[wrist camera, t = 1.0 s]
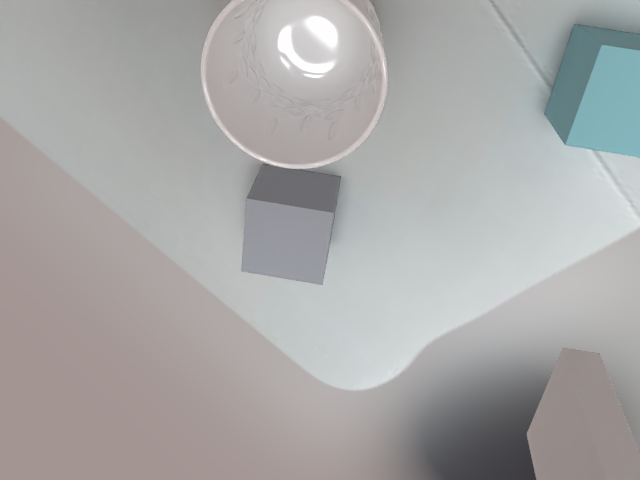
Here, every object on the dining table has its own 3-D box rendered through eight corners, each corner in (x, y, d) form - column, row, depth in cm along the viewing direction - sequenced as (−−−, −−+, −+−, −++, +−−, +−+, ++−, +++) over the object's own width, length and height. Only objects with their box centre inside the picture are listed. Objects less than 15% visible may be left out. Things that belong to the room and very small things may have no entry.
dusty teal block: (574, 23, 32) (601, 44, 28) (667, 38, 32) (710, 61, 27) (544, 113, 34) (565, 145, 30) (630, 127, 34) (664, 161, 30)
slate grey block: (263, 163, 38) (246, 198, 34) (340, 176, 38) (334, 212, 34) (257, 230, 41) (241, 271, 36) (330, 242, 40) (322, 284, 36)
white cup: (228, 61, 35) (174, 118, 26) (285, -75, 31) (243, -60, 22) (347, 124, 36) (333, 198, 27) (416, 1, 32) (424, 42, 24)
